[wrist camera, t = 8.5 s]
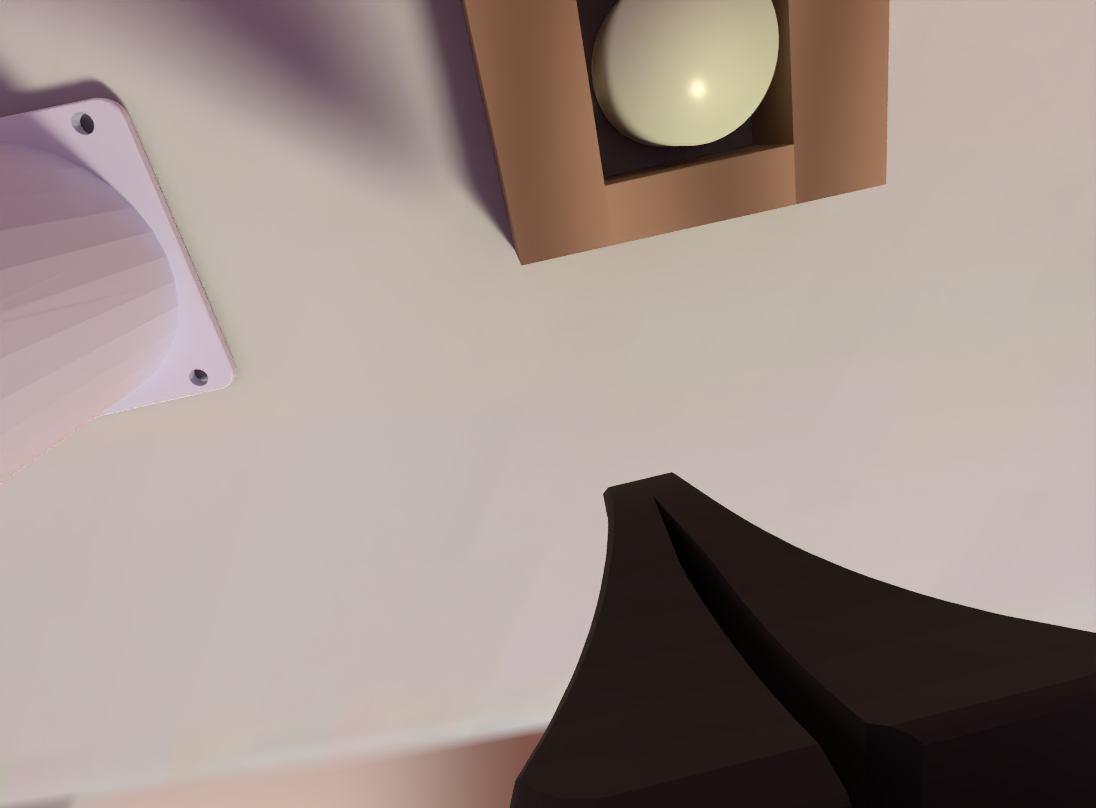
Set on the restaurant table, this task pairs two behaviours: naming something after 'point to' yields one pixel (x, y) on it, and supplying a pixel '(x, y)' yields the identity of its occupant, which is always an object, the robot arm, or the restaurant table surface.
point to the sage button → (683, 67)
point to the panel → (690, 185)
